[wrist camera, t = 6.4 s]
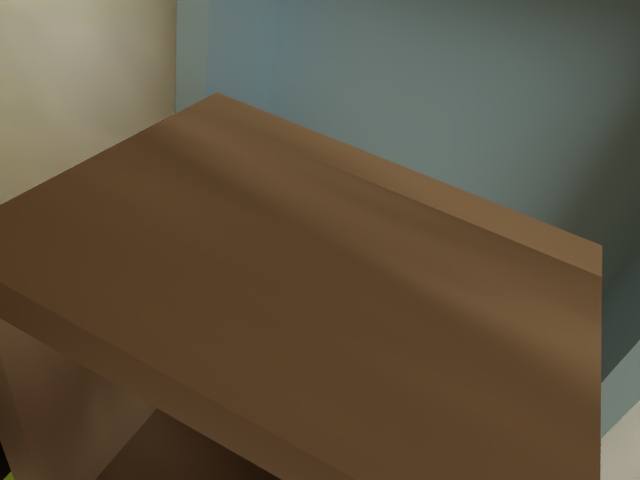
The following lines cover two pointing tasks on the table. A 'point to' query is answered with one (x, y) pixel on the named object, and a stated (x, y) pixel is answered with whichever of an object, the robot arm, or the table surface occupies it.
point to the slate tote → (460, 110)
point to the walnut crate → (289, 317)
